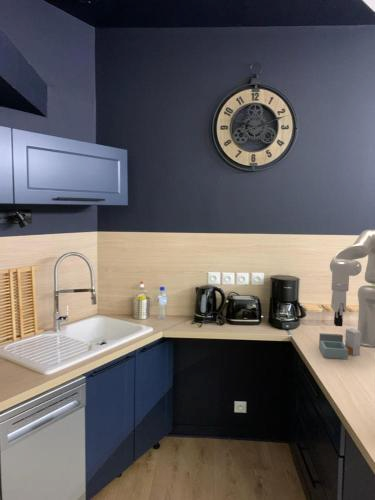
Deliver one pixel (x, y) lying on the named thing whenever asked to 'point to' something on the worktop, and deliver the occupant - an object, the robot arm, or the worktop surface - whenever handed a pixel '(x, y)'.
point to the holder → (333, 349)
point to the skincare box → (353, 341)
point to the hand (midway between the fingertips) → (338, 325)
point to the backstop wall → (330, 337)
